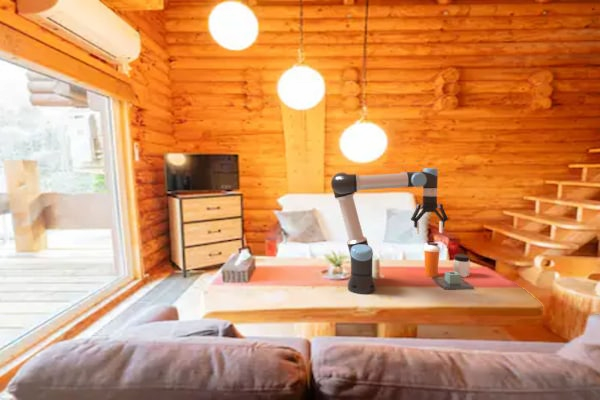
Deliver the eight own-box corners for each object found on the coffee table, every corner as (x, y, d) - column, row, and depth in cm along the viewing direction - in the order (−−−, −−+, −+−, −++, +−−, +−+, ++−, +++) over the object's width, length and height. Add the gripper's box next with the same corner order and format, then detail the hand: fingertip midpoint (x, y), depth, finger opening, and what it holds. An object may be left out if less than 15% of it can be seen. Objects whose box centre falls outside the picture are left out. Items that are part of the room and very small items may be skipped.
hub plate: (444, 289, 175) (444, 279, 175) (431, 279, 191) (432, 270, 191) (473, 289, 176) (474, 279, 175) (458, 279, 192) (459, 269, 191)
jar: (465, 278, 193) (466, 258, 191) (451, 275, 198) (451, 256, 197) (470, 274, 199) (471, 255, 197) (457, 271, 205) (457, 253, 203)
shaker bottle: (436, 278, 193) (437, 245, 191) (421, 275, 198) (422, 243, 196) (440, 274, 200) (441, 242, 198) (425, 271, 206) (426, 240, 204)
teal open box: (444, 280, 186) (444, 271, 185) (455, 279, 186) (455, 270, 186) (449, 283, 180) (450, 274, 179) (460, 283, 180) (460, 274, 180)
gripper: (410, 196, 178) (409, 234, 180) (455, 195, 179) (454, 233, 181) (405, 195, 186) (404, 232, 188) (448, 194, 186) (447, 231, 188)
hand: (429, 233), depth 184 cm, fingers open, 13 cm apart
